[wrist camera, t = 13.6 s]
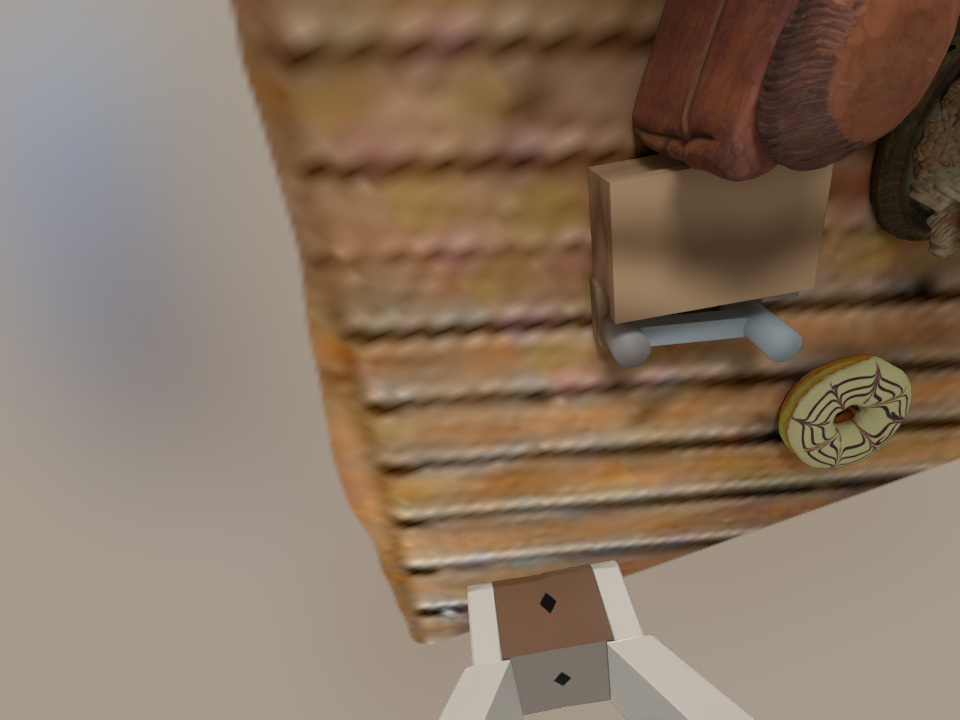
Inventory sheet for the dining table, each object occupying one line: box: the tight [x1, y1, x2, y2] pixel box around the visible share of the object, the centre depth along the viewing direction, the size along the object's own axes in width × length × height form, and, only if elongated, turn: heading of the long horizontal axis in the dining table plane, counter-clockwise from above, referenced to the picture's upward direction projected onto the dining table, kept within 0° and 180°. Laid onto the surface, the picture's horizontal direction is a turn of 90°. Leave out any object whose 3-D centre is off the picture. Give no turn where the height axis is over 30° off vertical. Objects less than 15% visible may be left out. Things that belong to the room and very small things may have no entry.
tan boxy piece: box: [588, 154, 834, 346], centre depth 38 cm, size 14×13×7 cm
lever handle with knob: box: [600, 299, 802, 367], centre depth 40 cm, size 13×3×7 cm, turn 94°
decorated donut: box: [778, 354, 912, 468], centre depth 48 cm, size 10×11×4 cm
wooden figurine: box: [633, 0, 960, 182], centre depth 27 cm, size 12×6×18 cm, turn 167°
